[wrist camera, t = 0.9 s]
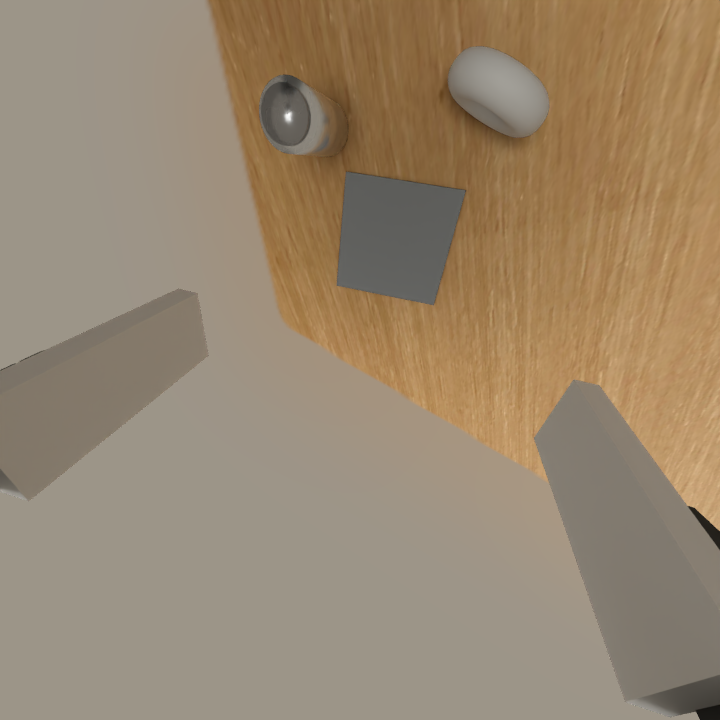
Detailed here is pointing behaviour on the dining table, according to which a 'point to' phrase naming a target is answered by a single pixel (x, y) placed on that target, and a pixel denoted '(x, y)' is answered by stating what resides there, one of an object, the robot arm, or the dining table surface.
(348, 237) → the mat
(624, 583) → the robot arm
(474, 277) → the dining table surface
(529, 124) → the donut
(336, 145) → the shaker
